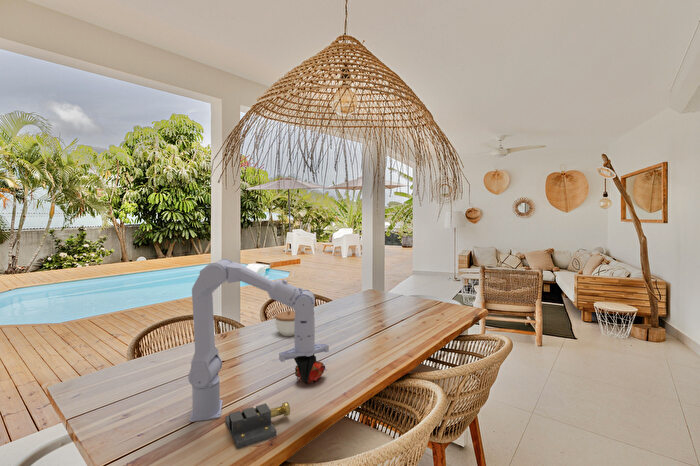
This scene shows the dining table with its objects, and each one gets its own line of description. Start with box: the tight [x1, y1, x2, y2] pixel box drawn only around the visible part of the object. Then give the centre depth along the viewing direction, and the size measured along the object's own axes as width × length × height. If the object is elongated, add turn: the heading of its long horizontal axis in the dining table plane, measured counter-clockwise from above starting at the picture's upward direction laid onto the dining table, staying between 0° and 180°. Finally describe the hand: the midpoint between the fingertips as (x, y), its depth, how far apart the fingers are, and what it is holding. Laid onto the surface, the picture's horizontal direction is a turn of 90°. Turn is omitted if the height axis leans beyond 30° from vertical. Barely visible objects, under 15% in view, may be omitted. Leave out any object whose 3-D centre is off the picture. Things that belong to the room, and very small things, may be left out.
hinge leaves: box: [224, 403, 278, 450], centre depth 94 cm, size 13×10×4 cm
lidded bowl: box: [274, 310, 295, 337], centre depth 168 cm, size 13×13×11 cm
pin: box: [257, 401, 291, 419], centre depth 96 cm, size 3×11×3 cm, turn 121°
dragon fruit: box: [294, 360, 326, 385], centre depth 121 cm, size 8×8×12 cm
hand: (304, 380), depth 101 cm, fingers closed
